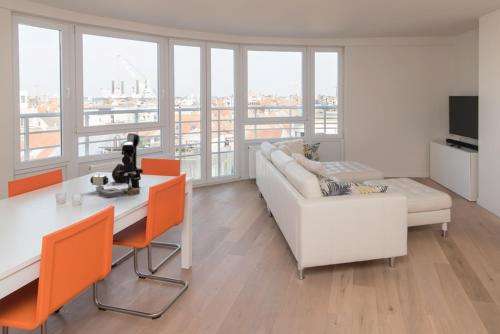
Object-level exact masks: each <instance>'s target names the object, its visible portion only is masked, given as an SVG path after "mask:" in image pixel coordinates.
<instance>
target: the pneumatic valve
mask: <svg viewBox="0 0 500 334" xmlns="http://www.w3.org/2000/svg"><path fill="white" fill-rule="evenodd" d="M89 181H90V184H91V185H92V186H95V191H96V192H99V191H98V190H104V189H105V185H107V184H108V183H109V177H108V176H107V175H101V174H99V173H98V175H96V174H95V175H92V176H91V177H90V180H89Z"/></svg>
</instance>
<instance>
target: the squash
mask: <svg viewBox="0 0 500 334" xmlns="http://www.w3.org/2000/svg"><path fill="white" fill-rule="evenodd" d="M120 165H122V166H124V164H122V163H118V164H117V165H116V166H115V167H114V169H112V172H111V178H112V179H113V181H114V182H115V183H122V182H126V180H125V178H124V176H116V175H115V172H116V171H121V170H119V169H118V166H120ZM126 183H127V182H126Z"/></svg>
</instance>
